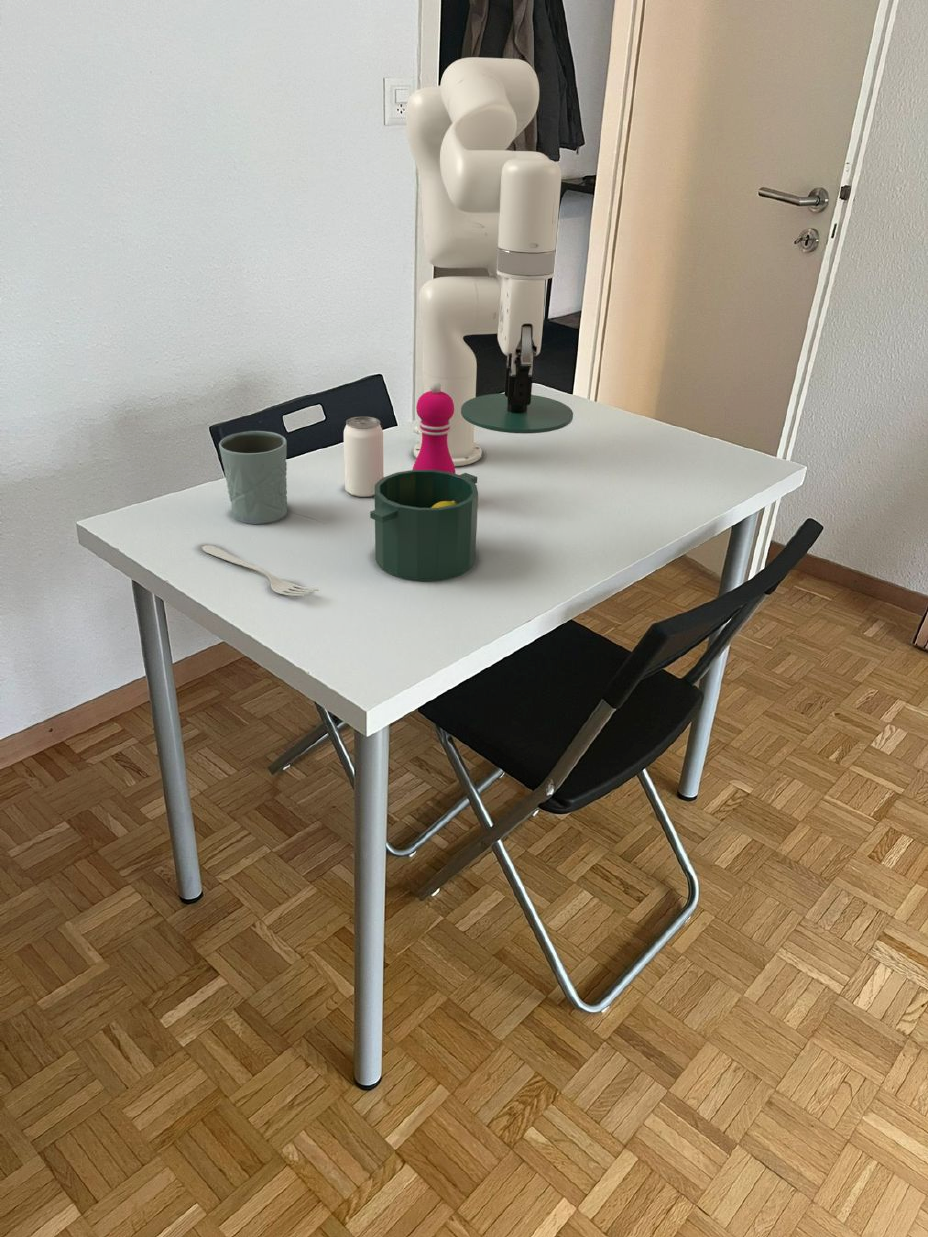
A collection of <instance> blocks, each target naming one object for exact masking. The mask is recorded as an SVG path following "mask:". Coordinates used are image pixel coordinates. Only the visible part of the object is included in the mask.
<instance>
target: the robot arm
mask: <svg viewBox="0 0 928 1237" xmlns="http://www.w3.org/2000/svg"><path fill="white" fill-rule="evenodd" d="M539 102H540V83H539V79H538V76H537V73H536V71H535V69H534V68H533V67H532V66H531V64H529V63H528V62H527V61H525V60H523V59H519V58H501V57H476V56H475V57H474V56H472V57H463V58H460V59H457V60H455V61H453V62H452V63H451V64H449V65H448V66H447V68H446V69H445V70H444V72H443V74H442V77H441V80H440V84H439V85H432V86H426V87H422V88H419V89H417V90H415V91H413V93H411V95H410V96H409V98H408V100H407V104H406V111H405V128H406V134H407V139H408V144H409V148H410V152H411V154H412V157H413V160H414V163H415V165H416V168H417V172H418V176H419V182H420V192H421V194H420V195H421V213H422V214H421V215H422V216H421V217H422V231H423V232H422V234H423V246H424V252H425V256H426V259H427V261H428V263H429V264H430V265H432V266H433V267H436V268H442V269H486V271H488V274H489V275H487V276H486V275H483V276H482V275H481V276H480V275H479V276H478V275H477V276H475V275H473V276H471V275H468V276H467V275H463V276H461V275H460V276H457V275H456V276H440V277H435V278H431V279H429V280H428V281H426V282H425V283H424V284H423V285H422V286H421V288H420V290H419V292H418V298H417V304H418V305H417V306H418V313H419V321H420V329H421V339H422V340H421V341H422V394H424V393H426V392H429V391H431V390H430V386H431V384H432V383H433V382H438V383H440V385H441V392H444V393H446V394H448V395H449V396H450V397H451V398H452V400H453V403H454V414H453V416H452V417H451V418H450V420H449V421H450V423H451V425H450V429H451V430H450V432H449V433H448V437H447V443H448V449H449V453H450V456H451V459H452V461H453V463H454V467H462V466H468V465H472V464H474V463H475V462H478V461H479V460H481V458H482V454H483V453H482V452H483V450H482V448H481V446H480V445H479V444H478V443H476V442H475V425H473V424H471V423H470V422H468V421H466V420H465V419H464V418H463V417H462V415H461V407H462V405H463V404H464V403H465V402H466V401H468V400H470V399H473V398H476V397H477V395H476V394H477V370H478V369H477V368H478V367H477V364H478V363H477V358H476V354H475V353H474V352H473V349H471V347H470V346H469V345H468V344H467V343H466V342H465V340H464V337H465V336H472V335H494V334H495V335H497V342H498V345H499V347H500V350H501V352H502V353H503V355H505V356H506V358H507V359H506V367H505V377H504V378H505V379H504V393H505V396H506V397H508V399H507V402H508V404H509V405H530V403H531V395H532V392H533V391H532V389H533V378H534V376H533V366H534V364H533V363H534V357H537V356H538V355H539V354H540V353H541V348H542V341H543V340H542V338H543V327H544V312H545V297H546V280H548V279H552V278H553V277H554V276H555V264H556V254H557V253H556V251H557V240H558V238H557V236H558V226H559V224H558V223H559V212H560V202H561V201H560V199H561V189H562V188H561V187H562V170H561V166H560V165H559V163H558V162H556V161H555V160H552V159H550V158H549V157H548V155H545V153H542V152H539V151H531V150H530V151H529V150H508V149H509V147H510V146H511V145H512V143H513V141H514V140H515V139H516V138H517V137H518V136H519V135H520V134H521V133H522V132H523V131H524V130H525V128H526V127H527V126H528V125H529V124H530V123H531V121H533V118H535V115H536V112H537V110H538V107H539ZM510 370H511V375H509V371H510ZM419 427H420V425H419V424H418V425H415V426H414V427H413V428H412V431H413V433H415V434H417V435H419V442H417V443H416V444H415V445H414V446H413V453H412V454H413V456H414V457H415V459H417V457H418V454H419V452H420V449H421V445H422V432H421V431H420V430H419Z"/></svg>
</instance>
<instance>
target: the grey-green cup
mask: <svg viewBox="0 0 928 1237" xmlns="http://www.w3.org/2000/svg"><path fill="white" fill-rule="evenodd" d="M287 442H288V441H287V439H286V438H285V436H283V435H281V434H279V433H276V432H273V431H263V430H248V431H241V432H236V433H232V434H230V435H227V436H225V437H224V438H221V440H220V441H219V443H218V448H219V452H220V457H221V463H222V466H223V469H224V471H223V472H224V476H225V481H226V487H227V492H228V495H229V497H228V498H229V501H230V503H231V512H232V515H233V518H234V519H235V520H236V521H237V522H238V521H239V522H241V523H244V524H249V525H266V524H270V523H271V524H272V523H275V522H278V521H279V520H282V519H284V517H286V515H287V513H288V496H287V494H288V491H287V487H288V485H287V483H288V482H287V475H288V473H287V470H288V467H287V464H288V463H287V453H288V452H287V444H288V443H287Z"/></svg>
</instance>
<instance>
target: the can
mask: <svg viewBox="0 0 928 1237" xmlns="http://www.w3.org/2000/svg"><path fill="white" fill-rule="evenodd" d="M343 462H344V463H343V465H344V466H343V468H344V490H345V491H346V492H347V493H348V494H349V495H351V496H353V497H358V498H371V497H375V484H376V483H377V482H379V481H380V480H381V479H382V478H383V477H384V431H383V427H382V426H381V421H380V419H378V418H376V417H371V416H354V417H350V418H349V419H346V421H345V426H344V429H343Z"/></svg>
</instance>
